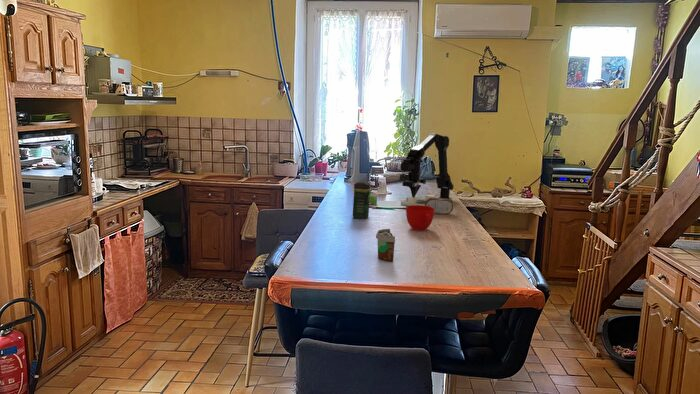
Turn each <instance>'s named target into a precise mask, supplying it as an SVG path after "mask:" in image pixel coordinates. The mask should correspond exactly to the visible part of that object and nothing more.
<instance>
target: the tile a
mask: <svg viewBox="0 0 700 394" xmlns="http://www.w3.org/2000/svg"><path fill="white" fill-rule="evenodd" d="M415 197H416V196H415ZM415 197H411V196H408V197H407V198H408V202H412V203H416V198H415Z"/></svg>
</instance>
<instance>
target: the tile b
mask: <svg viewBox="0 0 700 394" xmlns="http://www.w3.org/2000/svg"><path fill="white" fill-rule="evenodd" d="M425 198H426V199H425V200H428V199H429V198H436V195H432V194H426V195H425Z"/></svg>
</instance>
